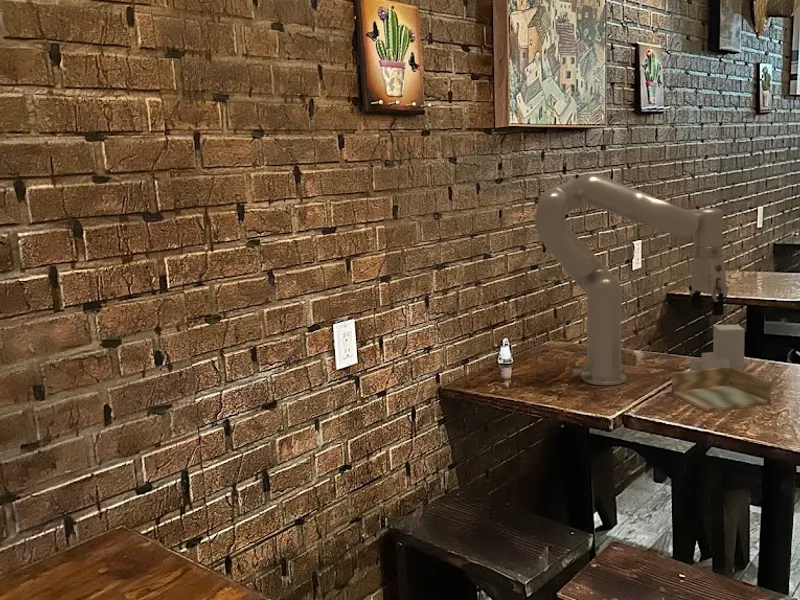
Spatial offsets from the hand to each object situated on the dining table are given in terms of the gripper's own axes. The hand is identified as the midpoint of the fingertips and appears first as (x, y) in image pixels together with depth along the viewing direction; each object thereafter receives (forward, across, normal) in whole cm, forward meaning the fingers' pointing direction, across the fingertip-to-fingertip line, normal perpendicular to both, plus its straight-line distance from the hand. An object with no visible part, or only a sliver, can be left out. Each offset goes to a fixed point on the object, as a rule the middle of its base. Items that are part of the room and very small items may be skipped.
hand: (706, 312), depth 204 cm
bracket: (+20, +2, -1) cm, 20 cm away
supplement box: (+20, +8, -13) cm, 25 cm away
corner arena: (+20, -17, +8) cm, 27 cm away
